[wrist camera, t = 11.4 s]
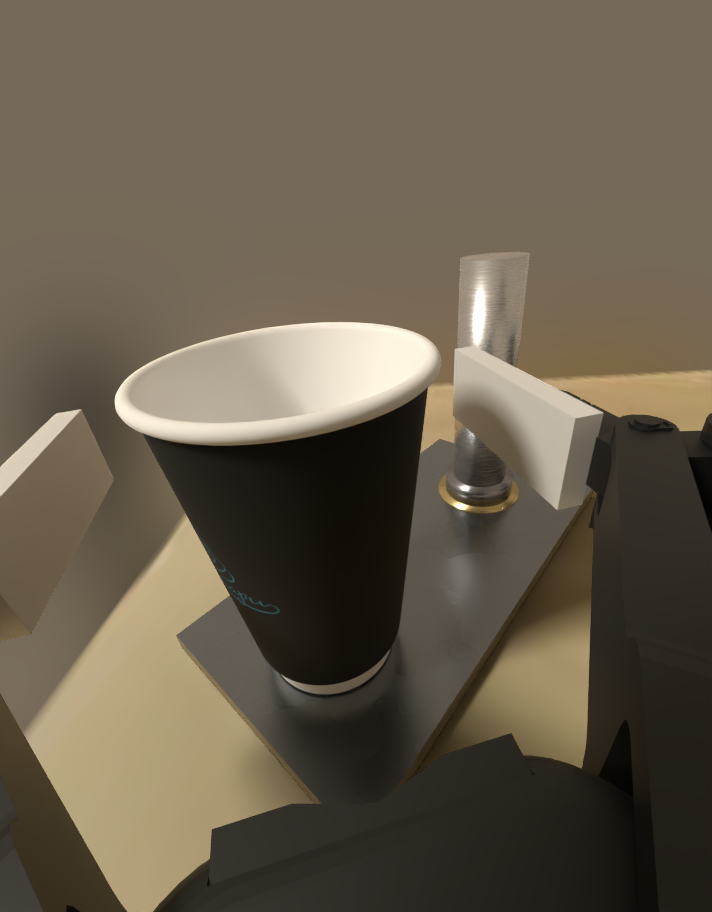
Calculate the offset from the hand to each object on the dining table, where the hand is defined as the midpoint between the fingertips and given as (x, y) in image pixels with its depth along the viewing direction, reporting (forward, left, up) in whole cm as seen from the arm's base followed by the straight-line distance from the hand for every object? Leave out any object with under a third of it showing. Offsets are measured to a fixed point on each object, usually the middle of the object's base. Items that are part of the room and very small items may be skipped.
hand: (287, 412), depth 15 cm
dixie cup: (+2, +3, -8) cm, 9 cm away
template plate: (-4, +3, -9) cm, 10 cm away
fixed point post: (-10, +3, -9) cm, 14 cm away
